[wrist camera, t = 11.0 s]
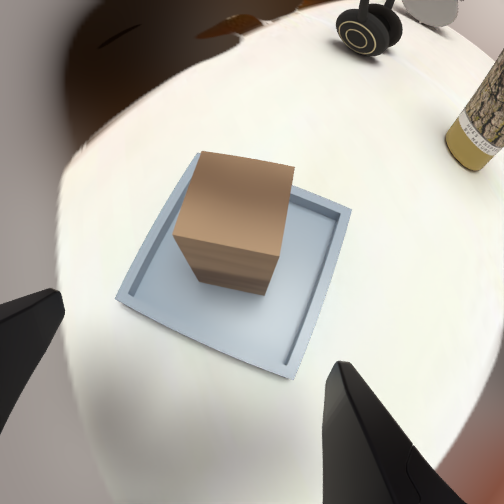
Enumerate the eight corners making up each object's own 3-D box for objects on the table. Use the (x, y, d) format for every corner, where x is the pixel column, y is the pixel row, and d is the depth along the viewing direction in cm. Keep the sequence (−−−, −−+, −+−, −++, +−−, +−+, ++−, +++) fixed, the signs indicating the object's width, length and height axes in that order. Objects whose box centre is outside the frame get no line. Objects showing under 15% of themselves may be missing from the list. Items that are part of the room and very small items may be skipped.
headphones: (399, 50, 37) (431, -33, 18) (370, 73, 33) (411, -40, 14) (358, 29, 39) (381, -54, 20) (320, 47, 34) (344, -63, 16)
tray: (289, 378, 20) (293, 380, 18) (123, 303, 21) (114, 298, 20) (345, 219, 24) (351, 209, 23) (199, 164, 26) (197, 152, 24)
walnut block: (264, 295, 21) (279, 256, 13) (199, 281, 22) (172, 234, 13) (276, 234, 23) (294, 166, 15) (214, 222, 23) (201, 151, 15)
